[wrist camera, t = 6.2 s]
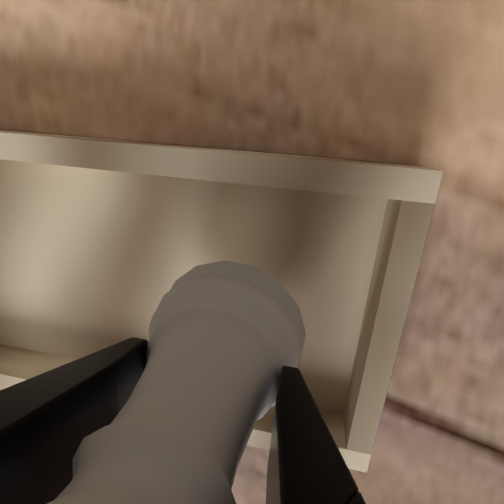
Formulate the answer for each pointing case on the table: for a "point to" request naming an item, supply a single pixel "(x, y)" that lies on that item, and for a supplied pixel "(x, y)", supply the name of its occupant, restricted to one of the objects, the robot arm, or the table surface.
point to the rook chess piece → (194, 392)
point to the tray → (211, 255)
